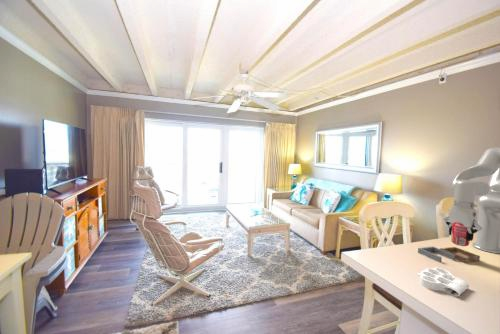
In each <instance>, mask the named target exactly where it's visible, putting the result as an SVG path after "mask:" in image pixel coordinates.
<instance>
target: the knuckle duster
mask: <svg viewBox="0 0 500 334" xmlns="http://www.w3.org/2000/svg"><path fill="white" fill-rule="evenodd" d="M416 275H418V276H419V285H420V286H422V287H424V288H426V289H428V290H431V291H439V292H440V291H442V292H444V293H446V294H448V295H450V296H452V297H460V296H461V294H462V293H465V291H466V290H468V289H469V287H470V284H469V283H468V282H467V281H465V280H463V279H461V278H459V277H457V276H454V275H453V274H452V273H451V272H450V271H449V270H447V269H444V268H441V267H433V268H424V270H423V269H422V270H421V272H419V273H416ZM453 291H455V292H454V293H453V294H452V292H453Z"/></svg>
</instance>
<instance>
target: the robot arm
mask: <svg viewBox="0 0 500 334" xmlns="http://www.w3.org/2000/svg"><path fill="white" fill-rule="evenodd" d="M487 176H488V177H489V176H490V178H489V180H488V183H487V182H485V181H481V180H473V179H476V178H483V177H487ZM451 188H452V190H453V192H454V197H453V198H454V199H453V204H452V206H451V207H450V211H449V215H448V216H445V217H444V218H443V221H444V222H445V224H446V225H447V227H448V235H449V236H451V232H452V224H453V223H454V222H458V223H463V225H464V226H465V227H466V228H467V230H468V232H469V233H467V239H466V240H467V241H469V242H471V243H472V244H471V245H472V247H473V248H476V249H477V250H480V251H483V252H486V253H487V252H488V253H494V254H499V255H500V147H490V148H488V149H486V150H485V151H484V152H483V154H482V155H481V157H480V158H479V160H478V161H477V163H476V164H475V165H473V166H471V167H468V168H466V169H464V170H462V171H460V172H459V173H458V174H457V175H456V176H455V178H454V179H453V181H452V183H451ZM488 193H490V194H488ZM492 194H493V195H492ZM476 196H479V197H478V198H477V204H475V203H476V202H475V198H476ZM477 207H478V212H477V209H476V208H477ZM477 213H478V214H477ZM474 234H476V239H475V240H476V241H475V242H472V241H473V240H474Z"/></svg>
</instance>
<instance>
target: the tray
mask: <svg viewBox="0 0 500 334" xmlns="http://www.w3.org/2000/svg"><path fill="white" fill-rule="evenodd" d="M439 249H441V250H443V251H446V252H448V253H451V254H453V255H456V256H455V260H454V261H458V262H461V263H463V264H466V263H474V262H480V260H481V259H480V258H481V256H480V255H479V254H476V253H472V252H471V251H467V250H465V249H461V248H459V247H456V246H449V247H440V248H439Z"/></svg>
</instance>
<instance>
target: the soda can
mask: <svg viewBox="0 0 500 334" xmlns="http://www.w3.org/2000/svg"><path fill="white" fill-rule="evenodd" d="M467 233H469V232H468V230H467V228H466V227H465V226H464V225H463V223H458V222H454V223H453V224H452V232H451V235H450V241H451V243H452V244H453V245H456V246H459V247H467V246H469V244H470V241H467V240H466V239H467Z"/></svg>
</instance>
